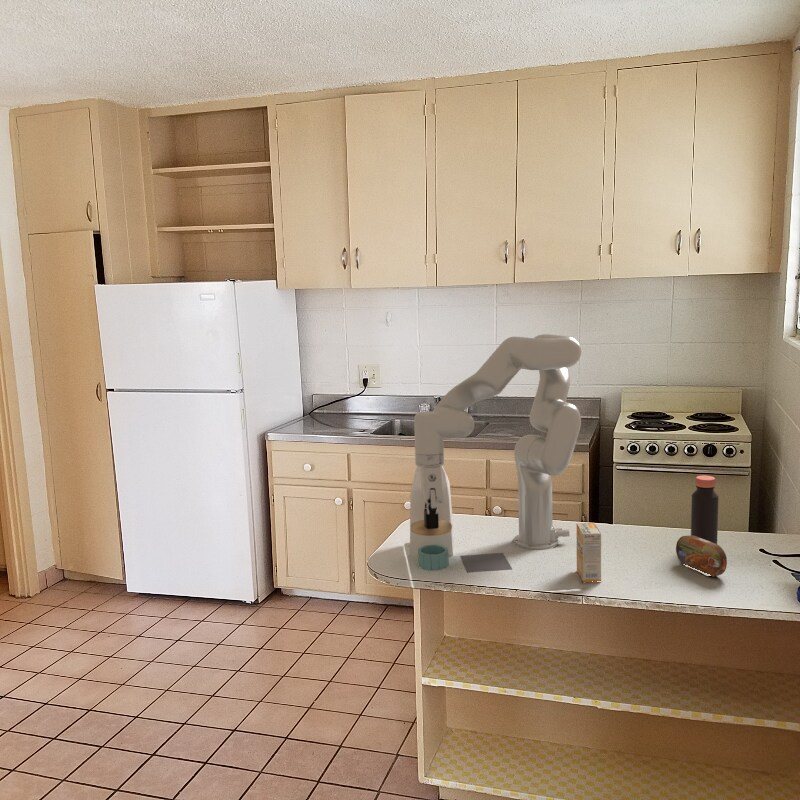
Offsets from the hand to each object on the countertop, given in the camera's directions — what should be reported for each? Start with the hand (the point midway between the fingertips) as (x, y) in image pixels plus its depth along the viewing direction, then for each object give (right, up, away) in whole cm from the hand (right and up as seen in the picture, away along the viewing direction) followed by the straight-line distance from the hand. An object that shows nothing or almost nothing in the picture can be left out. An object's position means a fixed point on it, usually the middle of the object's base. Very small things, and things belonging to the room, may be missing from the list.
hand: (431, 524), depth 202 cm
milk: (+1, -10, +14) cm, 17 cm away
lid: (0, -1, 0) cm, 1 cm away
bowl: (+1, -11, +2) cm, 12 cm away
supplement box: (+40, -12, -9) cm, 42 cm away
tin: (+69, -11, -8) cm, 70 cm away
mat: (+15, -11, +2) cm, 18 cm away
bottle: (+75, -8, +7) cm, 76 cm away
